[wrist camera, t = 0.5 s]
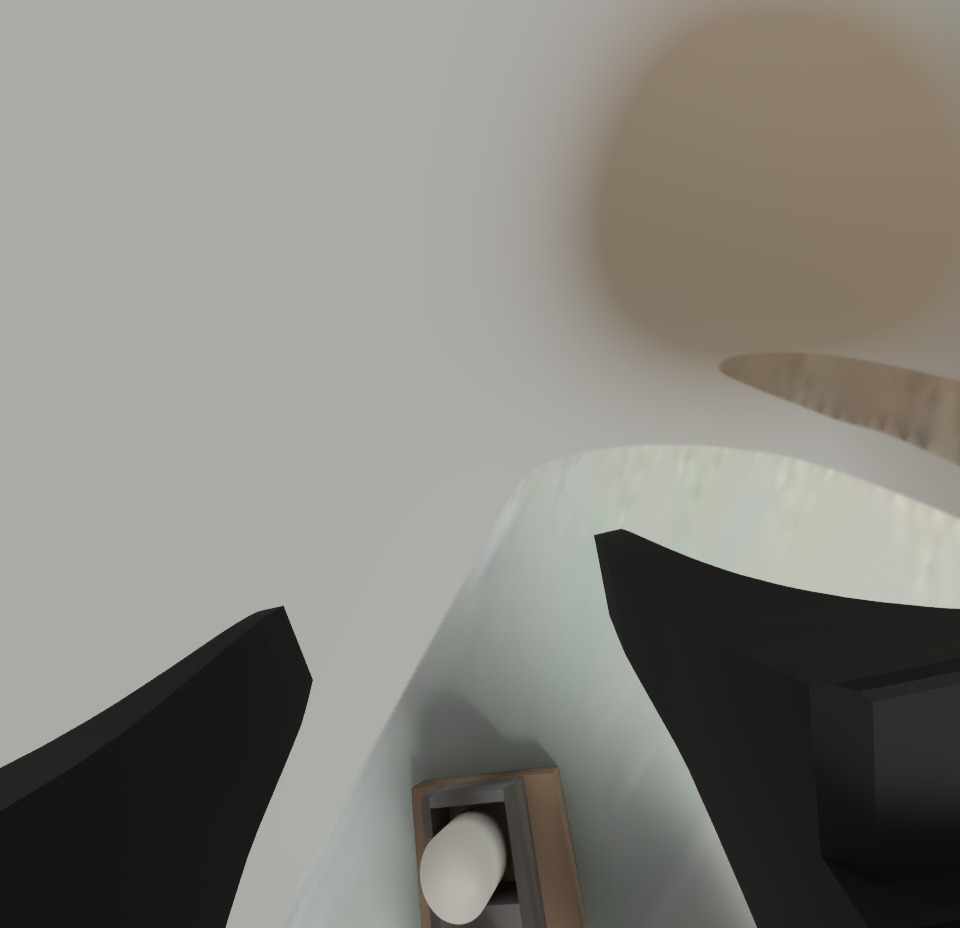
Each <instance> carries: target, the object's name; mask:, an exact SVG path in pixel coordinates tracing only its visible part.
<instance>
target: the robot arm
mask: <svg viewBox="0 0 960 928" xmlns="http://www.w3.org/2000/svg"><path fill="white" fill-rule="evenodd" d="M594 537H595V542H596V547H597V553H598V558H599V563H600V568H601V573H602V579H603V584H604V589H605V594H606V599H607V605H608V610H609V615H610V617H611V620H612V623H613V625H614V628H615V630H616V633H617V635H618V638H619V640H620V642H621V645H622V647H623V650H624V652H625V654H626V656H627V658H628V660H629V662H630V663H631V665H632V667H633V669H634V671H635V673H636V674H637V676H638V678H639V680H640V682H641V683H642V685H643V687H644V689H645V690H646V692H647V694H648V696H649V698H650V699H651V701H652V703H653V705H654V706H655V708H656V710H657V712H658V714H659V715H660V717H661V719H662V721H663V722H664V724H665V726H666V728H667V730H668V731H669V733H670V735H671V737H672V738H673V740H674V742H675V744H676V746H677V748H678V749H679V751H680V753H681V755H682V757H683V759H684V761H685V763H686V765H687V767H688V769H689V771H690V774H691V776H692V778H693V780H694V783H695V785H696V787H697V789H698V792H699V794H700V796H701V798H702V801H703V803H704V805H705V807H706V810H707V812H708V814H709V816H710V818H711V821H712V823H713V825H714V828H715V830H716V832H717V834H718V837H719V839H720V841H721V844H722V846H723V848H724V851H725V853H726V855H727V858H728V860H729V862H730V865H731V867H732V869H733V872H734V874H735V876H736V878H737V881H738V883H739V885H740V888H741V890H742V892H743V895H744V897H745V900H746V902H747V904H748V907H749V909H750V911H751V914H752V916H753V919H754V921H755V923H756V926H757V928H960V609H948V608H934V607H923V606H913V605H904V604H894V603H884V602H875V601H868V600H861V599H853V598H846V597H840V596H834V595H829V594H823V593H817V592H812V591H806V590H801V589H796V588H791V587H786V586H782V585H778V584H774V583H770V582H766V581H762V580H758V579H754V578H750V577H746V576H743V575H740V574H736V573H733V572H730V571H726V570H724V569H721V568H718V567H715V566H712V565H709V564H706V563H703V562H700V561H698V560H695V559H693V558H690V557H687V556H685V555H682V554H680V553H677V552H675V551H673V550H670V549H668V548H665V547H663V546H661V545H659V544H656V543H654V542H652V541H649V540H647V539H645V538H643V537H640V536H638V535H636V534H634V533H631V532H629V531H626V530H623V529H619V530H615V531H610V532H606V533H602V534H597V535H594ZM312 681H313V679H312V677H311V674H310V672H309V669H308V667H307V664H306V662H305V659H304V657H303V654H302V652H301V649H300V646H299V644H298V642H297V639H296V636H295V634H294V631H293V629H292V626H291V624H290V621H289V619H288V616H287V614H286V611H285V609H284V606H281V607H277V608H272V609H267V610H263V611H259V612H256V613H254V614H252V615H250V616H248V617H246V618H245V619H243V620H241V621H240V622H238V623H236V624H235V625H233V626H232V627H230V628H228V629H227V630H225V631H224V632H222V633H221V634H219V635H218V636H216V637H215V638H213V639H212V640H210V641H209V642H207V643H206V644H205V645H203V646H202V647H200V648H199V649H197V650H196V651H194V652H193V653H192V654H190V655H188V656H187V657H186V658H184V659H183V660H181V661H180V662H178V663H177V664H175V665H174V666H172V667H171V668H169V669H168V670H166V671H165V672H163V673H162V674H160V675H159V676H157V677H156V678H154V679H153V680H151V681H150V682H148V683H146V684H145V685H144V686H142V687H141V688H139V689H138V690H136V691H134V692H133V693H131V694H130V695H128V696H127V697H125V698H124V699H122V700H121V701H119V702H117V703H116V704H114V705H113V706H111V707H109V708H108V709H106V710H105V711H103V712H101V713H99V714H98V715H96V716H94V717H93V718H91V719H90V720H88V721H86V722H85V723H83V724H81V725H79V726H77V727H76V728H74V729H72V730H70V731H69V732H67V733H65V734H64V735H62V736H60V737H58V738H56V739H55V740H53V741H51V742H49V743H47V744H46V745H44V746H42V747H40V748H38V749H36V750H35V751H33V752H31V753H29V754H27V755H25V756H23V757H21V758H19V759H17V760H15V761H13V762H11V763H9V764H7V765H5V766H3V767H1V768H0V928H226V924H227V920H228V917H229V914H230V911H231V908H232V904H233V901H234V898H235V895H236V892H237V889H238V885H239V882H240V879H241V876H242V873H243V870H244V866H245V863H246V860H247V857H248V854H249V852H250V849H251V847H252V844H253V841H254V839H255V836H256V833H257V831H258V828H259V825H260V823H261V821H262V819H263V816H264V814H265V811H266V809H267V806H268V804H269V802H270V799H271V797H272V795H273V792H274V790H275V787H276V785H277V782H278V780H279V778H280V776H281V773H282V771H283V768H284V766H285V763H286V761H287V759H288V756H289V754H290V751H291V749H292V746H293V744H294V741H295V739H296V736H297V734H298V731H299V729H300V726H301V724H302V720H303V716H304V713H305V710H306V706H307V702H308V698H309V694H310V690H311V685H312Z"/></svg>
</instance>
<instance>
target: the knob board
mask: <svg viewBox="0 0 960 928" xmlns="http://www.w3.org/2000/svg"><path fill="white" fill-rule="evenodd" d="M412 802H413V815H414V828H415V841H416V854H417V867H418V880H419V893H420V906H421V919H422V928H587V922H586V917H585V911H584V906H583V900H582V895H581V889H580V884H579V879H578V873H577V868H576V862H575V857H574V851H573V846H572V840H571V835H570V830H569V824H568V819H567V813H566V808H565V802H564V797H563V791H562V786H561V780H560V775H559V770H558V766H553V767H544V768H535V769H527V770H518V771H509V772H500V773H491V774H483V775H474V776H465V777H456V778H447V779H438V780H430V781H423V782H421V783H420V784H418V785H416V786H415V787H413V788H412ZM468 809H480V810H483V811H485V812H488V813H489V814H491V815H492V816H493V817H494V818H495V819H496V820H497V821H498V822H499V824H500V825H501V827H502V829H503V830H504V833H505V835H506V838H507V842H508V849H509V858H508V865H507V868H506V871H505V873H504V875H503V877H502V879H501V881H500V882H499V884H498V886H497V887H496V889H495V891H494V892H493V894H492V896H491V898H490V899H489V901H488V903H487V904H486V906H485V908H484V909H483V911H482V912H481V914H480V915H479V916H478V917H477V918H475V919H474V920H472V921H471V922H469V923H466V924H460V925H459V924H451V923H448V922H446V921H444V920H442V919H441V918H440V917H438V916H437V915H436V914H435V913H434V912H433V911H432V909H431V908H430V906H429V905H428V903H427V901H426V899H425V897H424V894H423V891H422V887H421V881H420V865H421V859H422V856H423V853H424V850H425V848H426V847H427V845H428V843H429V842H430V841H431V840H432V839H433V838H434V837H435V836H436V835H437V834H438V833H439V832H440V831H441V830H442V829H443V828H444V827H445V826H446V825H448V824H449V823H450V822H451V821H452V820H453V819H454V818H455V817H456V816H457V815H458V814H460V813H461V812H463V811H465V810H468Z"/></svg>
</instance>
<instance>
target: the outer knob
mask: <svg viewBox="0 0 960 928" xmlns="http://www.w3.org/2000/svg"><path fill="white" fill-rule="evenodd" d="M508 858H509V849H508V842H507V838H506V835H505V833H504V830H503V829H502V827H501V825H500V824H499V822H498V821H497V820H496V819H495V818H494V817H493V816H492V815H491V814H489V813H488V812H485V811H483V810H480V809H468V810H465V811H463V812H461V813H460V814H458V815H457V816H456V817H455V818H454V819H453V820H452V821H451V822H450V823H449V824H448V825H446V826H445V827H444V828H443V829H442V830H441V831H440V832H439V833H438V834H437V835H436V836H435V837H434V838H433V839H432V840H431V841H430V842H429V843H428V845H427V847H426V848H425V850H424V853H423V856H422V859H421V865H420V881H421V887H422V891H423V894H424V897H425V899H426V901H427V903H428V905H429V906H430V908H431V909H432V911H433V912H434V913H435V914H436V915H437V916H438V917H440V918H441V919H442V920H444V921H446V922H448V923H451V924H459V925H460V924H466V923H469V922H471V921H472V920H474V919H475V918H477V917H478V916H479V915H480V914H481V912H482V911H483V909H484V908H485V906H486V904H487V903H488V901H489V899H490V898H491V896H492V894H493V892H494V891H495V889H496V887H497V886H498V884H499V882H500V881H501V879H502V877H503V875H504V873H505V871H506V868H507V865H508Z"/></svg>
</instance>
